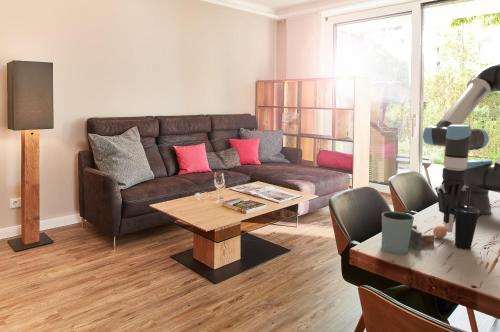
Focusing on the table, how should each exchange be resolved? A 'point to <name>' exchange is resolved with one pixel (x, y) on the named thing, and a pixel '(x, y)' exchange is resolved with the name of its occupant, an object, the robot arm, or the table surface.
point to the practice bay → (420, 239)
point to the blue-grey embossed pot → (396, 231)
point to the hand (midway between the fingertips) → (447, 231)
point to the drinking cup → (465, 225)
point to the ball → (439, 231)
